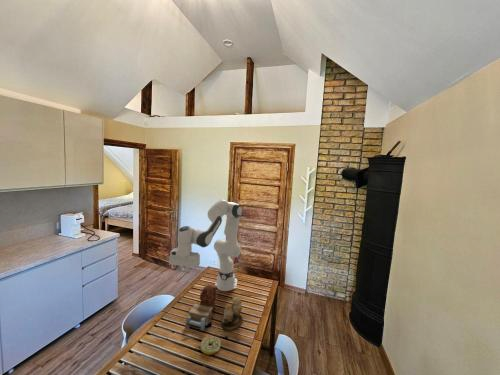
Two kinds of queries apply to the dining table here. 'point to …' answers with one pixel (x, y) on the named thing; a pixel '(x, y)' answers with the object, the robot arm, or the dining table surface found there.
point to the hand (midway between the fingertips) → (184, 271)
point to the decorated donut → (210, 345)
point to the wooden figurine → (208, 296)
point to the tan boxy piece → (200, 314)
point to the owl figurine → (232, 315)
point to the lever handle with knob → (200, 324)
